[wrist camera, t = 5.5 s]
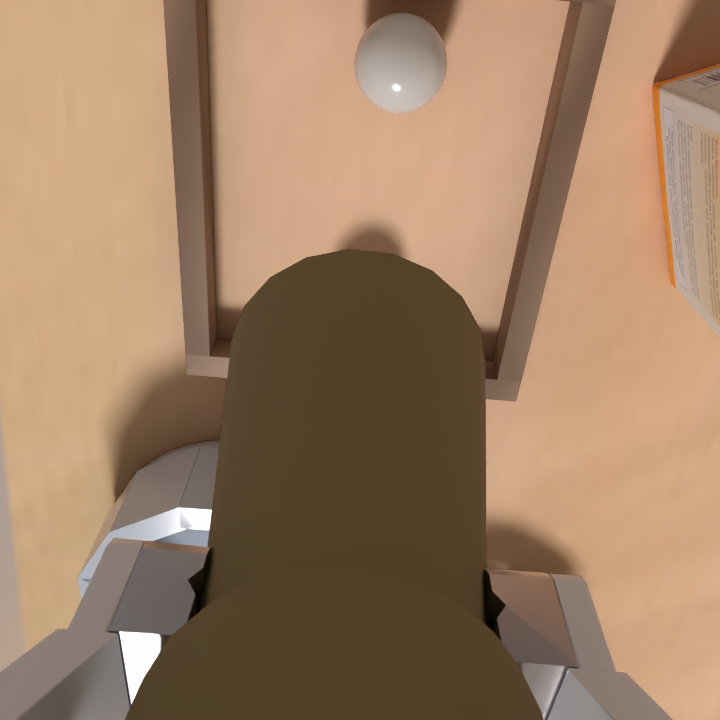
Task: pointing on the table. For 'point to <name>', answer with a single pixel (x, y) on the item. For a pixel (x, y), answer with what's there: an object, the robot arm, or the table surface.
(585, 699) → the robot arm
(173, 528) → the bowl
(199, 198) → the tray
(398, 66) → the pebble
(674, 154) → the supplement box
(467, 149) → the table surface
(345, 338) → the cork
